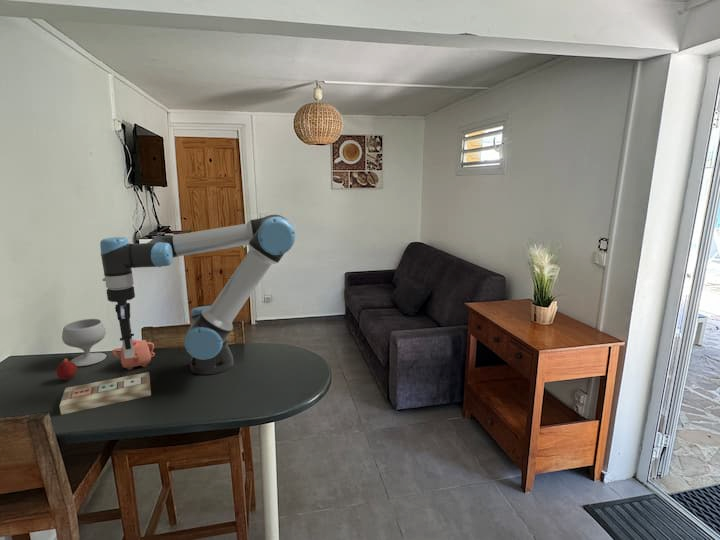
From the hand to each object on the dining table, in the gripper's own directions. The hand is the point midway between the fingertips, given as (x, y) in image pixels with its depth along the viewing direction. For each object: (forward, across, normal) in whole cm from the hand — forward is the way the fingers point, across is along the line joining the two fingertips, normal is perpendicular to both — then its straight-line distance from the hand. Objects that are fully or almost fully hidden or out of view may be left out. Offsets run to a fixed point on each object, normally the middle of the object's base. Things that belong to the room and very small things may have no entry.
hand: (129, 357), depth 133 cm
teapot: (+12, -21, 0) cm, 24 cm away
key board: (+12, 0, -7) cm, 14 cm away
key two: (+12, 0, -7) cm, 14 cm away
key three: (+12, 0, -14) cm, 18 cm away
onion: (+12, -19, -20) cm, 31 cm away
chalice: (+12, -35, -16) cm, 40 cm away
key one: (+12, 0, 0) cm, 12 cm away
